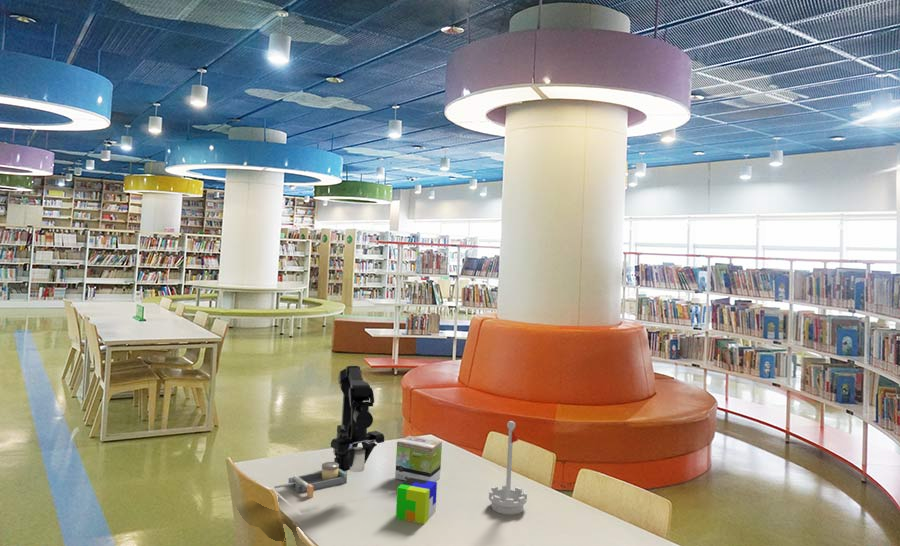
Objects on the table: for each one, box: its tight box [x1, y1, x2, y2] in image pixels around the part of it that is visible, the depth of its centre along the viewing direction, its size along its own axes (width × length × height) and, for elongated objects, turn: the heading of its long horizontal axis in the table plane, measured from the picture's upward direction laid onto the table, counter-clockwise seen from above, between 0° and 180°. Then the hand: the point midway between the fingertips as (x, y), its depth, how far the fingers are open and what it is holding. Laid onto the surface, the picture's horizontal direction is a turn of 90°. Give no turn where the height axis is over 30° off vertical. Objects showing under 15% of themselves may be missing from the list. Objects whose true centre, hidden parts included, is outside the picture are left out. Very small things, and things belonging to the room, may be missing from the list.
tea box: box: [394, 435, 443, 482], centre depth 223 cm, size 15×10×15 cm, turn 68°
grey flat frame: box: [287, 468, 348, 494], centre depth 213 cm, size 18×10×4 cm, turn 128°
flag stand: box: [488, 420, 528, 515], centre depth 200 cm, size 13×13×30 cm
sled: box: [273, 474, 314, 499], centre depth 203 cm, size 10×14×4 cm
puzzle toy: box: [395, 478, 438, 525], centre depth 191 cm, size 10×10×10 cm
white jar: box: [349, 446, 366, 473], centre depth 202 cm, size 5×5×7 cm
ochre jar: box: [321, 461, 339, 481], centre depth 216 cm, size 6×6×6 cm
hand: (357, 465), depth 202 cm, fingers closed on white jar, 5 cm apart
